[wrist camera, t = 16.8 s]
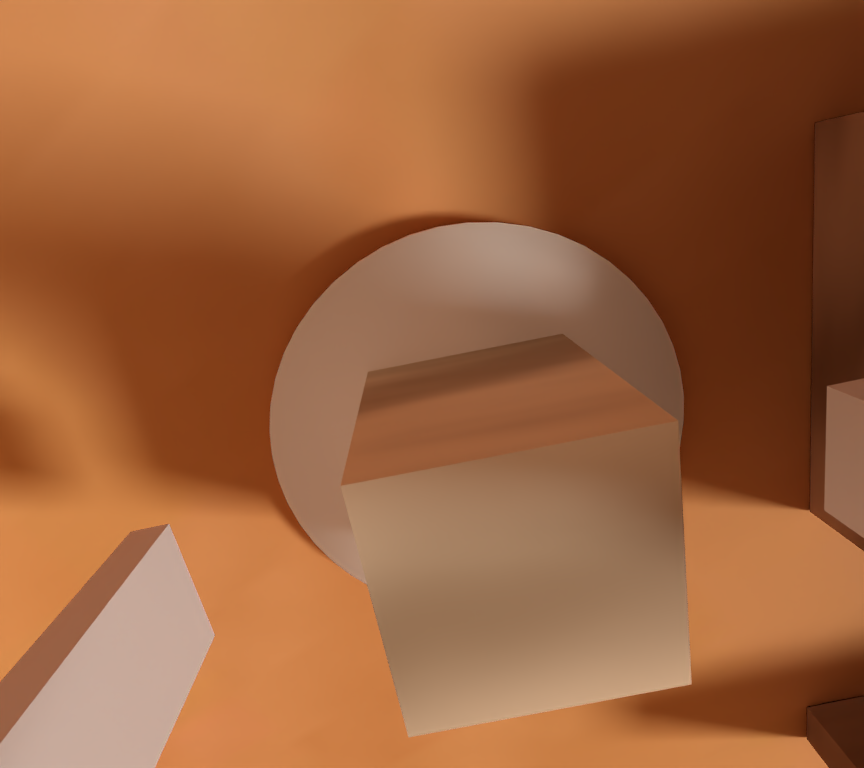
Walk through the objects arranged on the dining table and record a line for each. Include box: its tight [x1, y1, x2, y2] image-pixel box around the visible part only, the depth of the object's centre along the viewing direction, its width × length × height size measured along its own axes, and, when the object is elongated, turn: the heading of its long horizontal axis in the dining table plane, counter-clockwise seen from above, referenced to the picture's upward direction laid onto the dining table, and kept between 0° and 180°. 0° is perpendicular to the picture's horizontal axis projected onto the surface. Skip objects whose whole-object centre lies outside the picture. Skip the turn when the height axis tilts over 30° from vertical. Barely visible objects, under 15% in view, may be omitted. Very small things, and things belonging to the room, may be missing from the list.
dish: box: [269, 222, 684, 584], centre depth 15 cm, size 11×11×1 cm
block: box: [341, 334, 692, 737], centre depth 11 cm, size 5×5×6 cm
